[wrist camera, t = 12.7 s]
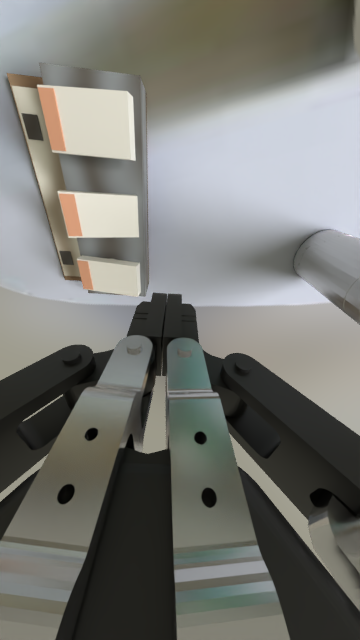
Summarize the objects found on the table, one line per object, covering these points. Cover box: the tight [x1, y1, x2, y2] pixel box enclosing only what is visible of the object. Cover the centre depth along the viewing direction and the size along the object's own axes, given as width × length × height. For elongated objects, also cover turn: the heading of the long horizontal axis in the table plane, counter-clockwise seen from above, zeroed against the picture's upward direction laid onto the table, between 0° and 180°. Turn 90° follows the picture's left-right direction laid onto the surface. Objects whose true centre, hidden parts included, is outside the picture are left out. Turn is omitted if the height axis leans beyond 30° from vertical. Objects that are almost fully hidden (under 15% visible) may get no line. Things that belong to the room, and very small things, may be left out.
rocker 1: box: [37, 85, 136, 161], centre depth 21 cm, size 9×5×2 cm, turn 85°
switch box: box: [7, 63, 149, 296], centre depth 30 cm, size 16×26×6 cm, turn 175°
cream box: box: [77, 255, 141, 297], centre depth 31 cm, size 9×5×3 cm, turn 85°
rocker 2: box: [57, 190, 139, 238], centre depth 26 cm, size 9×5×3 cm, turn 86°
